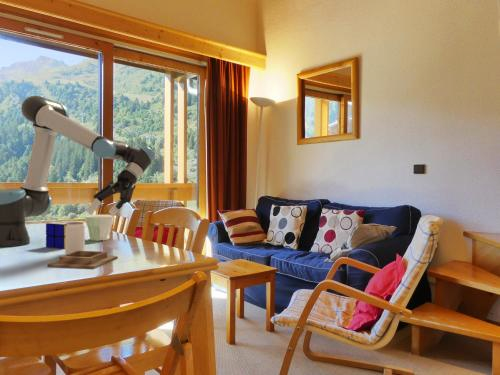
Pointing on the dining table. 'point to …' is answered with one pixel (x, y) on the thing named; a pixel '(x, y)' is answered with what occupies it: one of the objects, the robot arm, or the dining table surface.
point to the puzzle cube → (56, 234)
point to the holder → (83, 259)
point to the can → (74, 237)
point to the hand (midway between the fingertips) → (99, 213)
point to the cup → (99, 226)
